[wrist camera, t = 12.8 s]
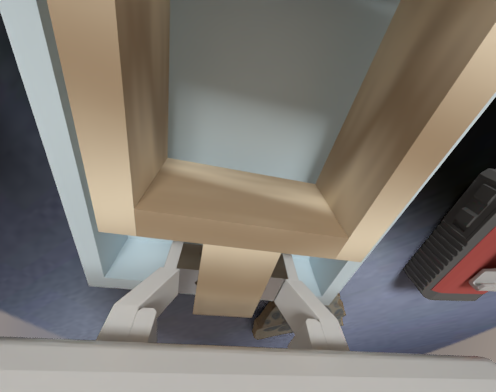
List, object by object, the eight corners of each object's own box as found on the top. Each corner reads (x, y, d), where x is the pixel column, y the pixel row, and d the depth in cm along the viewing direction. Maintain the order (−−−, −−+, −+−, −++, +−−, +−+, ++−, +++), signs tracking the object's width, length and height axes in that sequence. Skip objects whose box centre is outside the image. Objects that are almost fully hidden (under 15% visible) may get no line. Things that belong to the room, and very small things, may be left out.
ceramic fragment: (357, 283, 19) (351, 346, 23) (342, 259, 22) (339, 319, 26) (240, 300, 19) (256, 359, 24) (240, 274, 22) (254, 331, 26)
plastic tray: (312, 260, 19) (328, 305, 15) (119, 238, 16) (88, 286, 13) (516, -84, 8) (719, -184, 5) (32, -316, 5) (-305, -931, 2)
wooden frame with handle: (296, 261, 15) (314, 321, 11) (146, 244, 13) (115, 309, 10) (458, -44, 7) (679, -142, 3) (121, -187, 5) (-102, -659, 2)
